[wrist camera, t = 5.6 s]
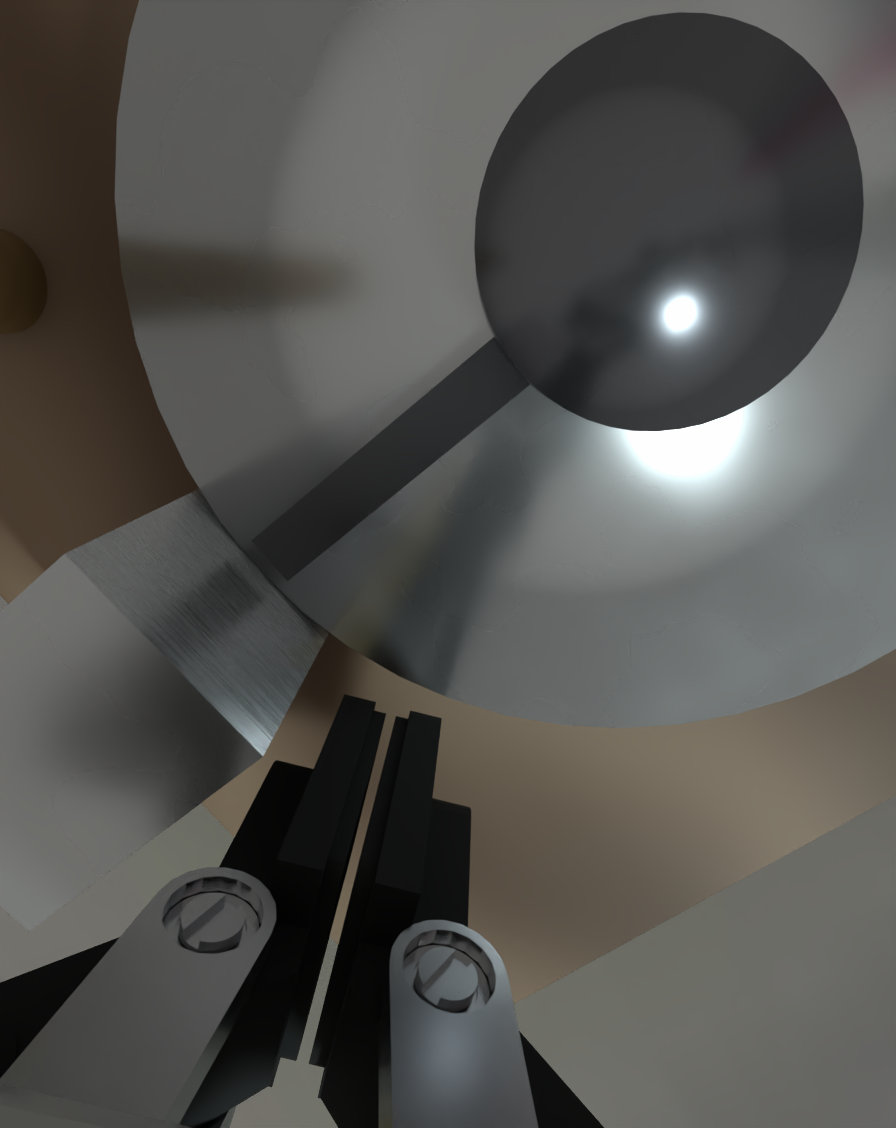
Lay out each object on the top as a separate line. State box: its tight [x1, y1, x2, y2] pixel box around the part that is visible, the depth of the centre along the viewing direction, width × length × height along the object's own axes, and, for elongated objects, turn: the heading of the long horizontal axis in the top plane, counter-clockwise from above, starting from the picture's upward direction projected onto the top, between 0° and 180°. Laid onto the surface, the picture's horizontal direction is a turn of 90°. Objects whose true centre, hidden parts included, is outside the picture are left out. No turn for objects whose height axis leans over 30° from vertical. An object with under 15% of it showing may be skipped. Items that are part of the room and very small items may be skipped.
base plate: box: [0, 0, 896, 1004], centre depth 10 cm, size 24×20×6 cm
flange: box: [0, 0, 896, 931], centre depth 9 cm, size 18×14×5 cm
